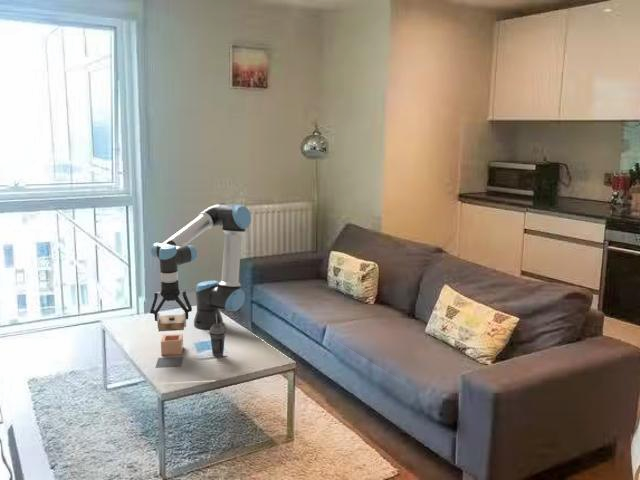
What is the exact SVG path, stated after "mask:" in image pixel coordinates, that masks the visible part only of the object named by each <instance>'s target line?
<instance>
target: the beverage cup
mask: <svg viewBox="0 0 640 480" xmlns="http://www.w3.org/2000/svg"><path fill="white" fill-rule="evenodd" d="M225 336H226V328H225V326H224V324H223V325H222V324H220V323H217V314H216V324H213V325H212V326H211V328H210V329H209V337H210V341H211V342H210V343H211V352H212V357H215V358H217V357H221V358H222V356H224V350H225Z"/></svg>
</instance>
